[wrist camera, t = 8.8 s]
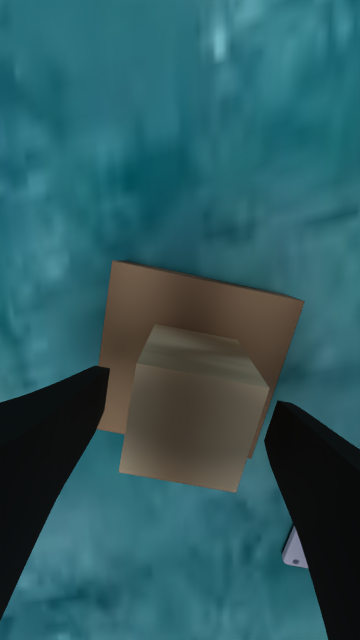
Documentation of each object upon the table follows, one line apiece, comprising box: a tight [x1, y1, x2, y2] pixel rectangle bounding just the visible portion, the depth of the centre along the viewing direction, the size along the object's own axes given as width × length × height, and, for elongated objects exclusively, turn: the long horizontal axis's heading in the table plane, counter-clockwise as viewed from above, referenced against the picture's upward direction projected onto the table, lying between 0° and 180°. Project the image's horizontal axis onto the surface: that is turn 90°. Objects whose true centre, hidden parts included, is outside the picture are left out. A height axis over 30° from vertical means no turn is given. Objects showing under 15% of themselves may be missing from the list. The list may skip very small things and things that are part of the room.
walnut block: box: [97, 261, 305, 459], centre depth 15 cm, size 10×10×3 cm
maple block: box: [119, 324, 270, 493], centre depth 11 cm, size 4×4×5 cm
